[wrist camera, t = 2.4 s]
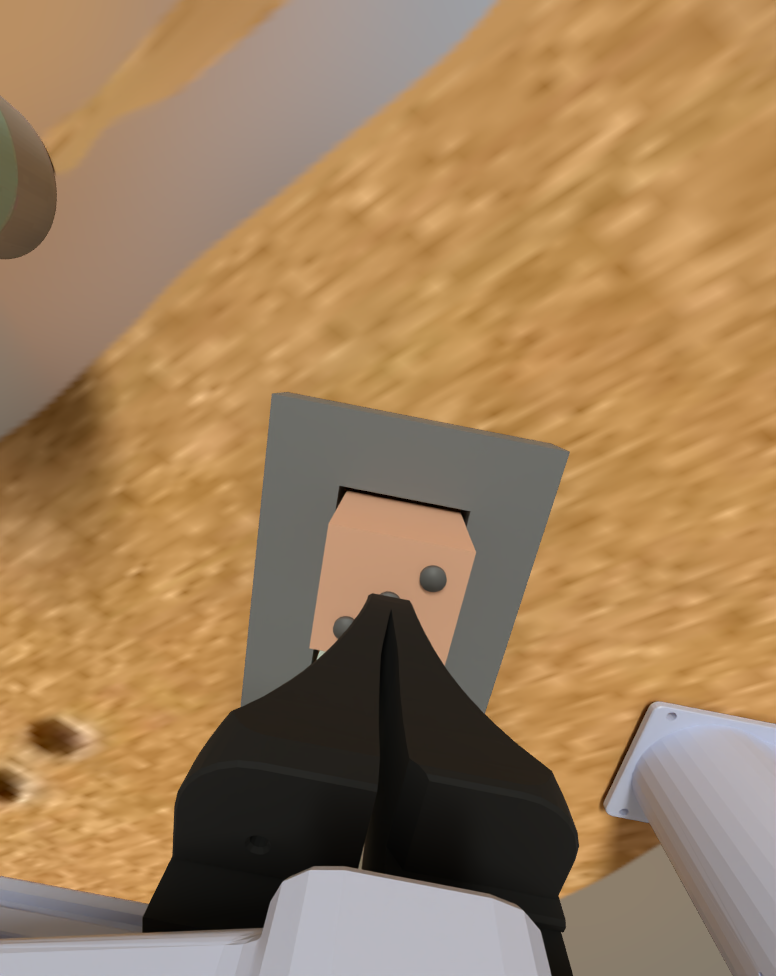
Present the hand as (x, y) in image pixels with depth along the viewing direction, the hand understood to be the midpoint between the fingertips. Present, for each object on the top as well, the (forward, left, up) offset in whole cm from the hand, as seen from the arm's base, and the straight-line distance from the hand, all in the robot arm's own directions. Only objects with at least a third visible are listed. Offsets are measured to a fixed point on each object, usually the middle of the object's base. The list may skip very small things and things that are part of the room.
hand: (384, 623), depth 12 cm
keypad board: (0, +8, -7) cm, 10 cm away
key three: (0, 0, -5) cm, 5 cm away
